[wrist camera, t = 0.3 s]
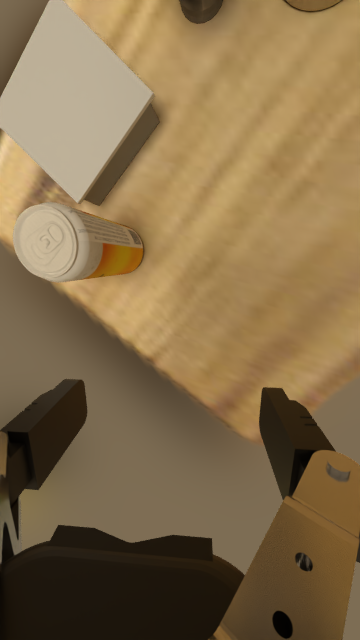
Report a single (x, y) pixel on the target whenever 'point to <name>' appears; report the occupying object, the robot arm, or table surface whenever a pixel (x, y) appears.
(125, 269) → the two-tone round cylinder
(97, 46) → the grey square box
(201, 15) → the beverage cup
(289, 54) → the table surface
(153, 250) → the table surface
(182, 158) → the table surface
